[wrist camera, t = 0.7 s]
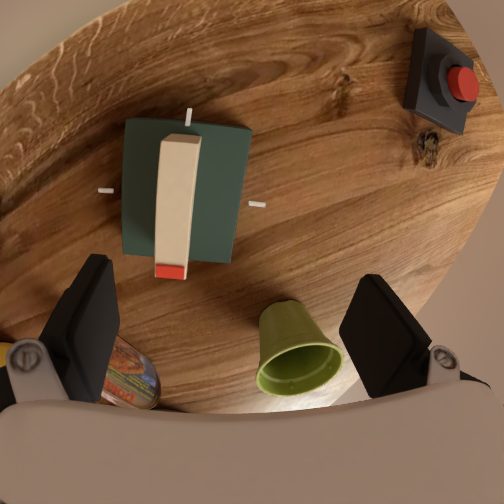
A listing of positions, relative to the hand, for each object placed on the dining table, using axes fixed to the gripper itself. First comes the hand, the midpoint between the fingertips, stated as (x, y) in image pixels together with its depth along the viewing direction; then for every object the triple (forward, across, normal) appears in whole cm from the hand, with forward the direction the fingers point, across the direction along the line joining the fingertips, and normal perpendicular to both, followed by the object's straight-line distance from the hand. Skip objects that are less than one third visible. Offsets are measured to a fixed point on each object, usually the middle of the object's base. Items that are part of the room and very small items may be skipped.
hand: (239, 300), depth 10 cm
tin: (+18, +12, +23) cm, 31 cm away
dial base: (+17, +3, +1) cm, 18 cm away
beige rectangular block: (+14, +3, +1) cm, 15 cm away
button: (+14, -21, -16) cm, 29 cm away
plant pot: (+18, -10, +16) cm, 26 cm away
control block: (+17, -21, -16) cm, 31 cm away
